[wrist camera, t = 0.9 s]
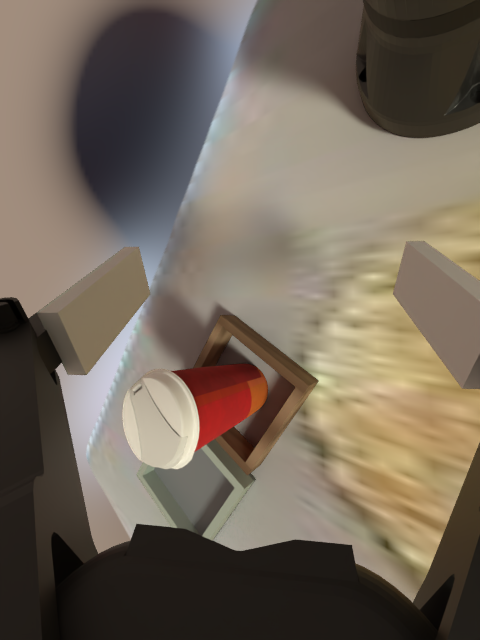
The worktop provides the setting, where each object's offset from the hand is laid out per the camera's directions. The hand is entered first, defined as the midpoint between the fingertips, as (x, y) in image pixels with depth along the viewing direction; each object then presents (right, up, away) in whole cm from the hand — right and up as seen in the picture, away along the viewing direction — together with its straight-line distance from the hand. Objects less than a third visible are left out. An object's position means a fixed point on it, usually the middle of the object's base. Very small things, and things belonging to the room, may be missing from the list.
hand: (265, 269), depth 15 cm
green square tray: (-8, -24, +26) cm, 36 cm away
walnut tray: (0, -11, +21) cm, 24 cm away
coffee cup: (0, -11, +21) cm, 24 cm away
